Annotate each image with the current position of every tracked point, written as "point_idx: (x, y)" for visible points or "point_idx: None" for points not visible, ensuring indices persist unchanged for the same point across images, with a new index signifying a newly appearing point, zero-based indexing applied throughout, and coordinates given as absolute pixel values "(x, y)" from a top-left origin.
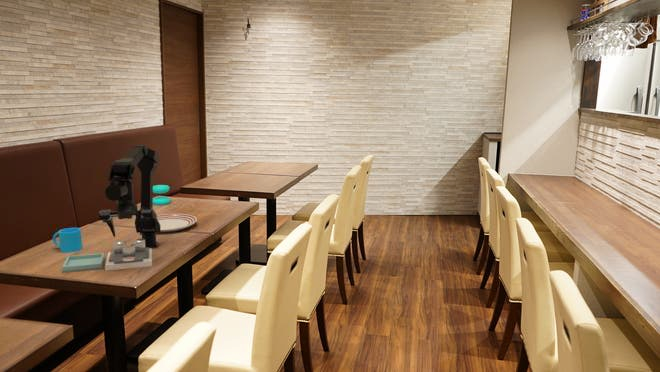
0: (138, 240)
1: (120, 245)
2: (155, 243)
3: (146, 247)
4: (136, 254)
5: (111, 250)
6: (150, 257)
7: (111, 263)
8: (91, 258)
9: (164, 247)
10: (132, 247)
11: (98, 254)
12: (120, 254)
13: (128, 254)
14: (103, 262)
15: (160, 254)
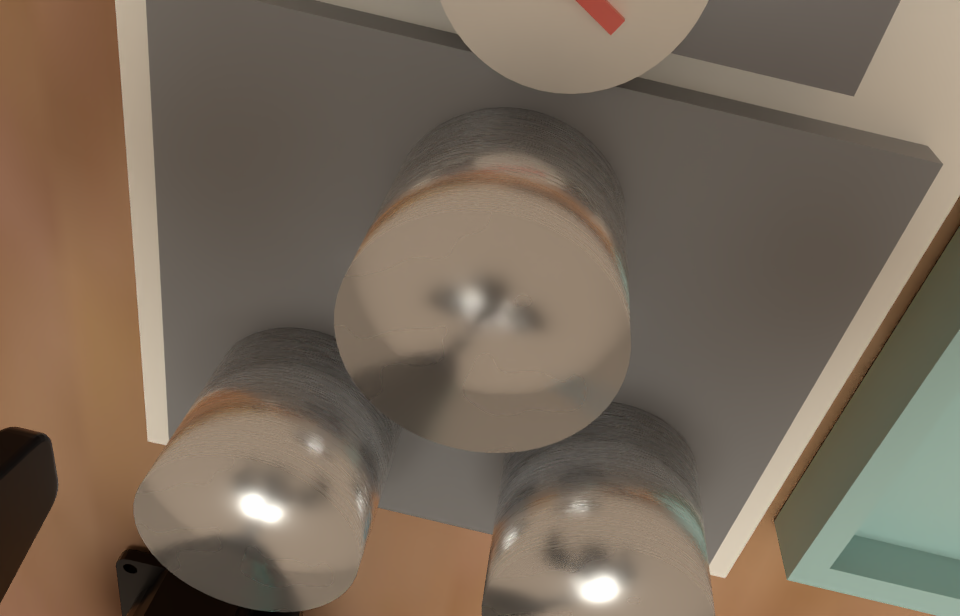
0: (253, 541)
1: (609, 514)
2: (132, 607)
3: None
4: None
5: None
6: (139, 16)
7: (928, 27)
8: (958, 551)
9: None
10: (410, 210)
11: (875, 574)
12: (631, 363)
13: (536, 140)
14: (868, 372)
15: (65, 303)
